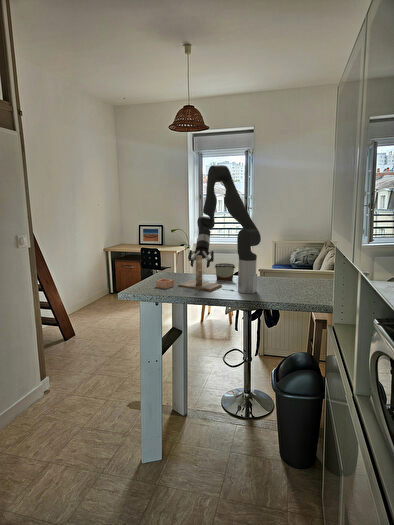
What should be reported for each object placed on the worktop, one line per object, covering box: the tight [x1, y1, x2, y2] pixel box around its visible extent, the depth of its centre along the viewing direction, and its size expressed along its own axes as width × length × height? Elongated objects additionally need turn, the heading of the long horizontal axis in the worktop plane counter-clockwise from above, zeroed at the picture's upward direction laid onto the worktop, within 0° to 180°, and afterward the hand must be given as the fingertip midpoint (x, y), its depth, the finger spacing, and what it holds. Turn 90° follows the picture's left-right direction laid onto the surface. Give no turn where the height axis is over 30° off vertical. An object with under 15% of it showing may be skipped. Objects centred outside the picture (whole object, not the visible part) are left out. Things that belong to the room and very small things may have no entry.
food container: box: [214, 262, 236, 282], centre depth 214 cm, size 12×6×10 cm, turn 84°
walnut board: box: [177, 279, 223, 293], centre depth 196 cm, size 20×14×2 cm
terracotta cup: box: [155, 278, 175, 289], centre depth 194 cm, size 7×7×4 cm
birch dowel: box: [195, 256, 203, 285], centre depth 194 cm, size 4×4×16 cm
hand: (199, 266), depth 196 cm, fingers open, 8 cm apart
